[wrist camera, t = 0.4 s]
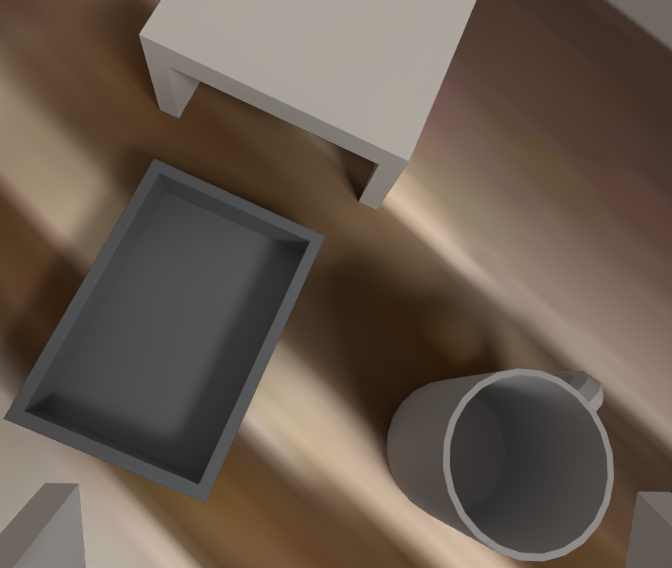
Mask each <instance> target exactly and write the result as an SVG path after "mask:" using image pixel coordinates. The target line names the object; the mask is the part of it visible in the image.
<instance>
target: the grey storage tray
mask: <svg viewBox="0 0 672 568" xmlns="http://www.w3.org/2000/svg"><path fill="white" fill-rule="evenodd" d="M324 237H325V236H323V235H321V234H319V233H317V232H314V231H312V230H310V229H308V228H306V227H303V226H301V225H299V224H297V223H295V222H293V221H290V220H288V219H286V218H284V217H282V216H279V215H277V214H275V213H273V212H271V211H268V210H266V209H264V208H262V207H260V206H257V205H255V204H253V203H251V202H249V201H246V200H244V199H242V198H240V197H238V196H235V195H233V194H231V193H229V192H227V191H225V190H222V189H220V188H218V187H216V186H214V185H211V184H209V183H207V182H205V181H203V180H200V179H198V178H196V177H194V176H192V175H189V174H187V173H185V172H183V171H181V170H178V169H176V168H174V167H172V166H170V165H167V164H165V163H163V162H161V161H159V160H157V159H154V160H153V162H152V163H151V165H150V167H149V168H148V170H147V172H146V174H145V175H144V177H143V179H142V181H141V182H140V184H139V186H138V187H137V189H136V191H135V193H134V194H133V196H132V198H131V200H130V201H129V203H128V205H127V206H126V208H125V210H124V212H123V213H122V215H121V217H120V218H119V220H118V222H117V224H116V225H115V227H114V229H113V231H112V232H111V234H110V236H109V237H108V239H107V241H106V243H105V244H104V246H103V248H102V250H101V251H100V253H99V255H98V256H97V258H96V260H95V262H94V263H93V265H92V267H91V269H90V270H89V272H88V274H87V275H86V277H85V279H84V281H83V282H82V284H81V286H80V288H79V289H78V291H77V293H76V294H75V296H74V298H73V300H72V301H71V303H70V305H69V307H68V308H67V310H66V312H65V313H64V315H63V317H62V319H61V320H60V322H59V324H58V326H57V327H56V329H55V331H54V332H53V334H52V336H51V338H50V339H49V341H48V343H47V345H46V346H45V348H44V350H43V351H42V353H41V355H40V357H39V358H38V360H37V362H36V364H35V365H34V367H33V369H32V370H31V372H30V374H29V376H28V377H27V379H26V381H25V383H24V384H23V386H22V388H21V389H20V391H19V393H18V395H17V396H16V398H15V400H14V402H13V403H12V405H11V407H10V408H9V410H8V412H7V414H6V415H5V417H4V419H5V420H8V421H10V422H13V423H15V424H17V425H20V426H22V427H25V428H27V429H29V430H32V431H34V432H37V433H39V434H41V435H44V436H46V437H49V438H51V439H53V440H56V441H58V442H61V443H63V444H65V445H68V446H70V447H73V448H75V449H77V450H80V451H82V452H85V453H87V454H89V455H92V456H94V457H97V458H99V459H101V460H104V461H106V462H109V463H111V464H113V465H116V466H118V467H120V468H123V469H125V470H128V471H130V472H132V473H135V474H137V475H140V476H142V477H144V478H147V479H149V480H152V481H154V482H156V483H159V484H161V485H164V486H166V487H168V488H171V489H173V490H176V491H178V492H180V493H183V494H185V495H188V496H190V497H192V498H195V499H197V500H200V501H202V502H204V503H205V502H206V500H207V498H208V496H209V493H210V491H211V489H212V487H213V484H214V482H215V480H216V478H217V476H218V473H219V471H220V469H221V467H222V464H223V462H224V460H225V458H226V456H227V453H228V451H229V449H230V447H231V444H232V442H233V440H234V438H235V436H236V433H237V431H238V429H239V427H240V424H241V422H242V420H243V418H244V415H245V413H246V411H247V409H248V407H249V404H250V402H251V400H252V398H253V395H254V393H255V391H256V389H257V387H258V384H259V382H260V380H261V378H262V375H263V373H264V371H265V369H266V367H267V364H268V362H269V360H270V358H271V355H272V353H273V351H274V349H275V346H276V344H277V342H278V340H279V338H280V335H281V333H282V331H283V329H284V326H285V324H286V322H287V320H288V318H289V315H290V313H291V311H292V309H293V306H294V304H295V302H296V300H297V298H298V295H299V293H300V291H301V289H302V286H303V284H304V282H305V280H306V277H307V275H308V273H309V271H310V269H311V266H312V264H313V262H314V260H315V257H316V255H317V253H318V251H319V249H320V246H321V244H322V242H323V240H324Z"/></svg>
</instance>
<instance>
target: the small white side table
mask: <svg viewBox="0 0 672 568" xmlns="http://www.w3.org/2000/svg"><path fill="white" fill-rule="evenodd" d="M475 2H476V0H161V1H160V2H159V4H158V6H157V7H156V9H155V10H154V12H153V13H152V15H151V17H150V18H149V20H148V21H147V23H146V24H145V26H144V28H143V29H142V31H141V32H140V34H139V36H140V40H141V44H142V47H143V51H144V54H145V58H146V62H147V65H148V69H149V72H150V76H151V80H152V83H153V87H154V90H155V94H156V98H157V101H158V105H159V108H160V110H161V111H164V112H166V113H168V114H170V115H172V116H174V117H177V118H180V116H181V114H182V112H183V111H184V109H185V107H186V105H187V104H188V102H189V100H190V99H191V97H192V95H193V93H194V92H195V90H196V88H197V86H198V85H199V83H200V81H201V82H203V83H206V84H208V85H210V86H212V87H214V88H216V89H218V90H220V91H223V92H225V93H227V94H229V95H231V96H233V97H235V98H238V99H240V100H242V101H244V102H246V103H248V104H250V105H253V106H255V107H257V108H259V109H261V110H263V111H265V112H268V113H270V114H272V115H274V116H276V117H278V118H280V119H282V120H285V121H287V122H289V123H291V124H293V125H295V126H297V127H300V128H302V129H304V130H306V131H308V132H310V133H312V134H315V135H317V136H319V137H321V138H323V139H325V140H327V141H330V142H332V143H334V144H336V145H338V146H340V147H342V148H344V149H347V150H349V151H351V152H353V153H355V154H357V155H359V156H362V157H364V158H366V159H368V160H370V161H372V162H374V163H375V166H374V168H373V170H372V172H371V175H370V177H369V179H368V182H367V184H366V186H365V188H364V191H363V193H362V195H361V197H360V200H359V202H361V203H363V204H365V205H367V206H369V207H371V208H374V209H376V210H377V209H378V208H379V206H380V204H381V203H382V201H383V200H384V198H385V197H386V195H387V194H388V192H389V191H390V189H391V188H392V186H393V185H394V183H395V182H396V180H397V179H398V177H399V176H400V174H401V173H402V171H403V170H404V168H405V167H406V165H407V164H408V162H409V160H410V158H411V155H412V153H413V151H414V148H415V146H416V143H417V141H418V139H419V136H420V134H421V131H422V129H423V127H424V124H425V122H426V119H427V117H428V115H429V112H430V110H431V107H432V105H433V103H434V100H435V98H436V96H437V93H438V91H439V88H440V86H441V84H442V81H443V79H444V76H445V74H446V72H447V69H448V67H449V64H450V62H451V60H452V57H453V55H454V52H455V50H456V48H457V45H458V43H459V40H460V38H461V36H462V33H463V31H464V28H465V26H466V24H467V21H468V19H469V16H470V14H471V12H472V9H473V7H474V5H475Z"/></svg>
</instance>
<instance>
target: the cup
mask: <svg viewBox="0 0 672 568" xmlns="http://www.w3.org/2000/svg"><path fill="white" fill-rule="evenodd" d="M602 402H603V391H602V386H601V383H600V382H599V381H597V380H596V379H595V378H593V377H591V376H590V375H588V374H587V373H585V372H584V371H567V372H560V373H555V374H548V373H545V372H542V371H540V370H529V369H519V368H518V369H511V370H505V371H499V372H492V373H486V374H479V375H473V376H466V377H460V378H454V379H447V380H442V381H437V382H432V383H429V384H427V385H425V386H423V387H421V388H419V389H417V390H415V391H413V392H412V393H411V394H410V395H409V396H408V397H407V398H406V399H405V400H404V401H403V402H402V403H401V404H400V406H399V407H398V409H397V411H396V412H395V414H394V416H393V417H392V421H391V424H390V427H389V431H388V435H387V456H388V461H389V466H390V470H391V473H392V475H393V477H394V479H395V481H396V483H397V485H398V487H399V488H400V489H401V491H402V492H403V493H404V494H405V495H406V497H407V498H408V499H409V500H410V501H411V502H412V503H413V504H415V505H416V506H418V507H419V508H420V509H422V510H423V511H425V512H426V513H427V514H429V515H431V516H433V517H435V518H436V519H438V520H440V521H442V522H444V523H445V524H447V525H449V526H451V527H453V528H454V529H456V530H458V531H460V532H462V533H463V534H465V535H467V536H469V537H471V538H472V539H474V540H476V541H478V542H480V543H481V544H483V545H485V546H487V547H489V548H490V549H492V550H494V551H496V552H498V553H501V554H504V555H506V556H509V557H512V558H515V559H518V560H526V561H546V560H550V559H553V558H557V557H560V556H564V555H566V554H568V553H569V552H571V551H572V550H574V549H575V548H577V547H578V546H580V545H582V544H583V543H585V541H586V540H587V539H588V538H589V537H590V535H591V534H592V533H593V532H594V531H595V529H596V528H597V527H598V526H599V525H600V522H601V520H602V518H603V516H604V514H605V512H606V509H607V507H608V505H609V503H610V497H611V491H612V486H613V480H614V474H613V454H612V451H611V447H610V444H609V440H608V436H607V433H606V430H605V428H604V426H603V424H602V423H601V421H600V419H599V417H598V415H597V413H596V411H597V410H598V408H599V407H600V406H601V405H602Z"/></svg>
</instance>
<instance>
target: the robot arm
mask: <svg viewBox="0 0 672 568" xmlns="http://www.w3.org/2000/svg"><path fill="white" fill-rule="evenodd" d="M0 568H86V565H85V554H84V542H83V530H82V518H81V506H80V494H79V484H62V483H45V484H44V485H43V486H42V487H41V488H40V490H39V491H38V492H37V493H36V494H35V495H34V496H33V497H32V499H31V500H30V501H29V502H28V503H27V504H26V505H25V506H24V508H23V509H22V510H21V511H20V512H19V513H18V514H17V516H16V517H15V518H14V519H13V520H12V521H11V522H10V523H9V525H8V526H7V527H6V528H5V529H4V530H3V531H2V532H1V534H0ZM625 568H672V494H671V493H670V492H638V494H637V500H636V507H635V513H634V519H633V525H632V531H631V537H630V543H629V549H628V555H627V561H626V567H625Z"/></svg>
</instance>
